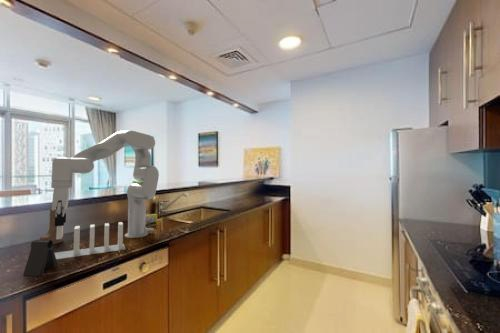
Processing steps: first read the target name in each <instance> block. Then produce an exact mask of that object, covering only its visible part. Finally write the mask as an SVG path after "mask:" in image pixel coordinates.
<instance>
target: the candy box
mask: <svg viewBox="0 0 500 333" xmlns="http://www.w3.org/2000/svg"><path fill="white" fill-rule="evenodd" d="M155 226H158V213H151V214H146V220H145V227H146V228H151V227H155Z"/></svg>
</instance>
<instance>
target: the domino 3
mask: <svg viewBox="0 0 500 333" xmlns="http://www.w3.org/2000/svg"><path fill="white" fill-rule="evenodd" d="M95 226H96V225H95V224H90V225H89V247H88V248H89V253H94V248H95V236H96V235H95V232H96V230H95V228H96V227H95Z"/></svg>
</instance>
